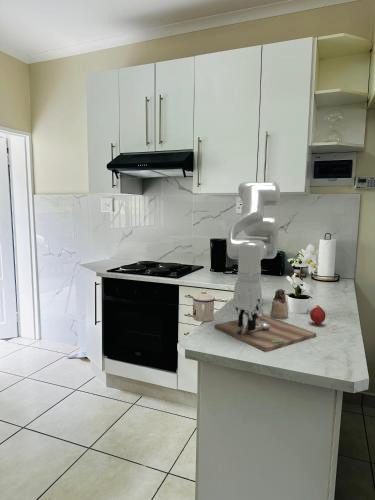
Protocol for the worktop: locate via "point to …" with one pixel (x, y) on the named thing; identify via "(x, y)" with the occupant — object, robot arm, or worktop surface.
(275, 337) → the wooden cutting board
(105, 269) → the worktop surface
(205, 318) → the teacup with lid
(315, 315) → the onion
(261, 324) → the dial lever
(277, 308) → the tan brown ceramic jug
